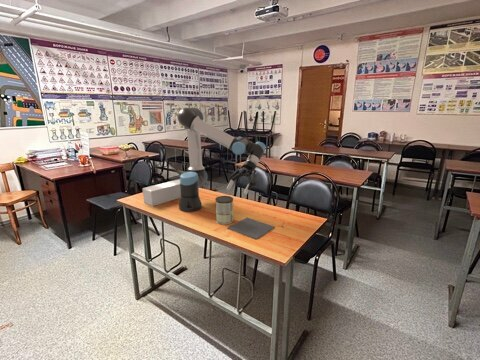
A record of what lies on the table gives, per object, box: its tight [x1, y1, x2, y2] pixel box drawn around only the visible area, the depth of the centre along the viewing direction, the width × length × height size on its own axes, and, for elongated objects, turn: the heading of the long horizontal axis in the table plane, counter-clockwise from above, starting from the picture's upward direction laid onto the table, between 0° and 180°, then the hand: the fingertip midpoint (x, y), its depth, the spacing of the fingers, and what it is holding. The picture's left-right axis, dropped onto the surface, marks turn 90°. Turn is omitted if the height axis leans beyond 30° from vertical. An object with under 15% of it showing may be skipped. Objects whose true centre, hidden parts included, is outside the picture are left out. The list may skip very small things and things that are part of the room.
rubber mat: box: [226, 217, 276, 240], centre depth 148 cm, size 20×18×1 cm
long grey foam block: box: [142, 178, 181, 207], centre depth 193 cm, size 32×11×11 cm, turn 139°
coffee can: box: [215, 195, 234, 225], centre depth 155 cm, size 10×10×14 cm
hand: (236, 191), depth 160 cm, fingers open, 13 cm apart
